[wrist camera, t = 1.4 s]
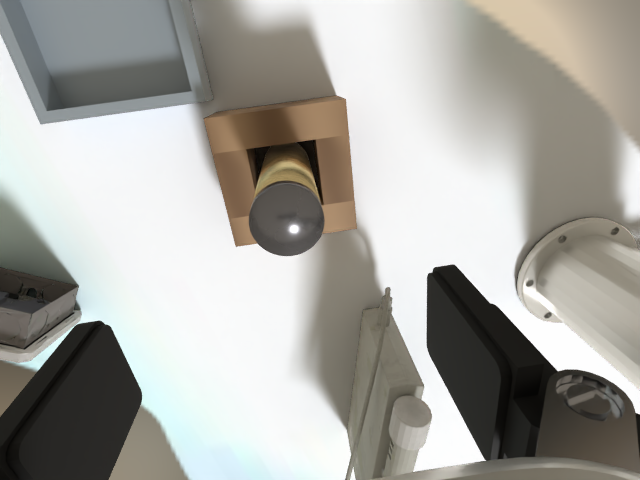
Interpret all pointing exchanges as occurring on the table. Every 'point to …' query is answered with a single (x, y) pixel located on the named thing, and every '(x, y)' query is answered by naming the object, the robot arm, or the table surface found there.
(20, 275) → the electrical switch
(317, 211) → the brass pin
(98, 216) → the table surface
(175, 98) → the parts tray
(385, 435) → the geiger counter
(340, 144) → the brown square frame
